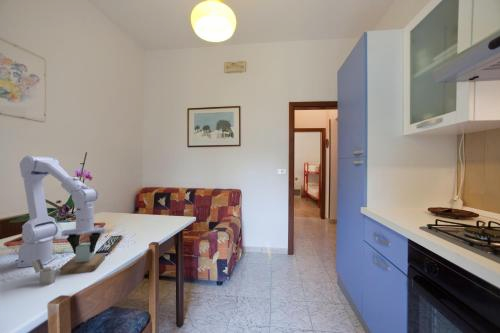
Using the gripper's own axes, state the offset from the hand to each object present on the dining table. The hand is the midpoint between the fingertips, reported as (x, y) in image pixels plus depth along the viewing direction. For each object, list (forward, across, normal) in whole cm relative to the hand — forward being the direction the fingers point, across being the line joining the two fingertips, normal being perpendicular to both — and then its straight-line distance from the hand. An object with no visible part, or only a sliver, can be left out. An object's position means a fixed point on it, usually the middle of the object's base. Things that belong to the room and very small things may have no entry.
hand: (84, 252), depth 84 cm
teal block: (+3, 0, 0) cm, 3 cm away
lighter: (+6, -8, -10) cm, 14 cm away
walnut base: (+6, 0, 0) cm, 6 cm away
